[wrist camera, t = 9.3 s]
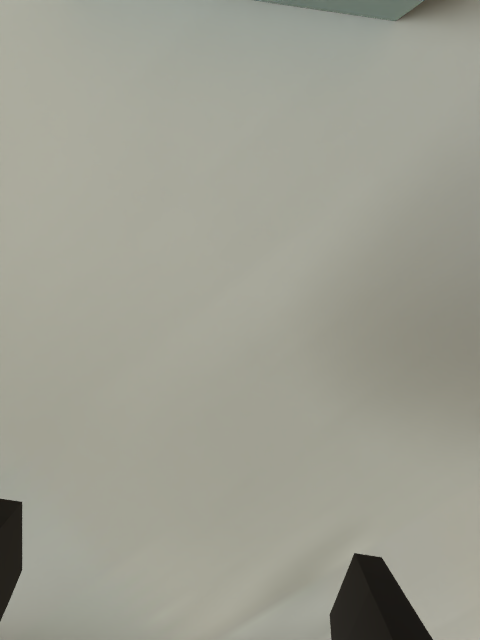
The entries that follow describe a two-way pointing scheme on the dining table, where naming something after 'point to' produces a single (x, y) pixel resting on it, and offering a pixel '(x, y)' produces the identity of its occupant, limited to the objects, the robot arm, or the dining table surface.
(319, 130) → the dining table surface
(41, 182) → the dining table surface
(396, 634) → the robot arm
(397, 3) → the tray
